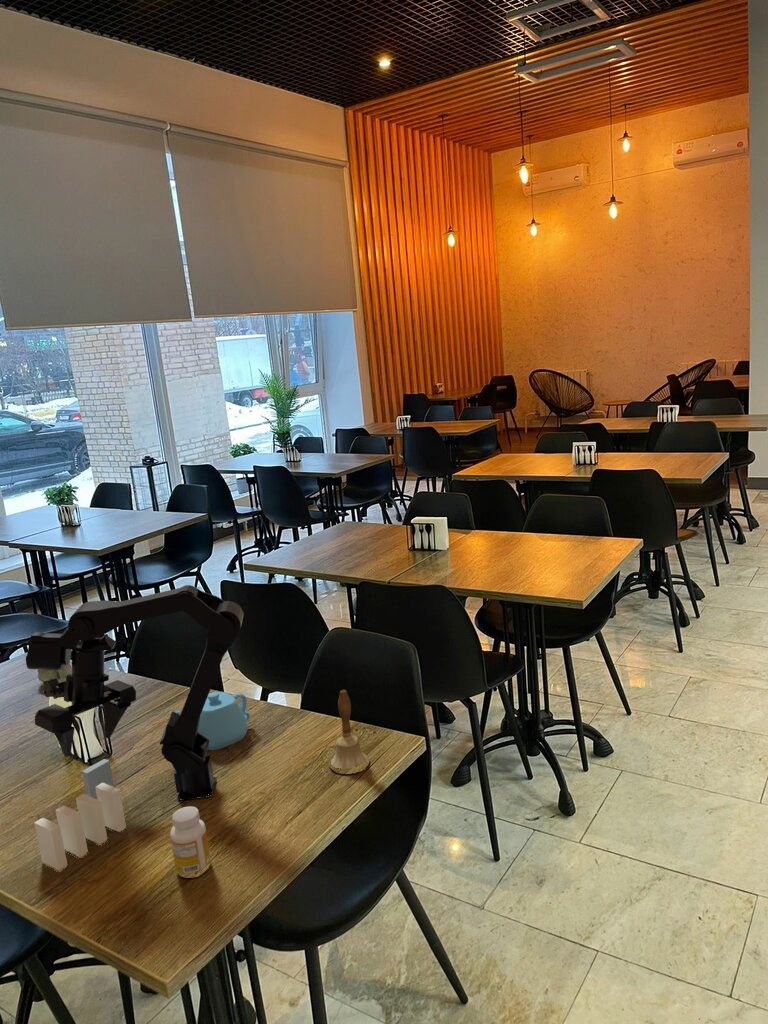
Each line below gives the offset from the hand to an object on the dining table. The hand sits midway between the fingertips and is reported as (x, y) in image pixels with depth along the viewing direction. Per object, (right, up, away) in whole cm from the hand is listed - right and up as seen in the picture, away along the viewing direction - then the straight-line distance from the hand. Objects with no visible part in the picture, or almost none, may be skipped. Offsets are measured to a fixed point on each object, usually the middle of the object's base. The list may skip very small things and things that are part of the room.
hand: (87, 746), depth 147 cm
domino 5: (+5, -14, -9) cm, 17 cm away
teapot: (+19, -6, +24) cm, 31 cm away
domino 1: (0, -16, -15) cm, 22 cm away
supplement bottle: (+25, -15, -19) cm, 35 cm away
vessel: (-33, -2, +64) cm, 72 cm away
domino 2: (+3, -15, -12) cm, 19 cm away
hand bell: (+50, -6, +9) cm, 51 cm away
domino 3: (+2, -12, +2) cm, 12 cm away
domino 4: (+7, -13, -6) cm, 16 cm away
